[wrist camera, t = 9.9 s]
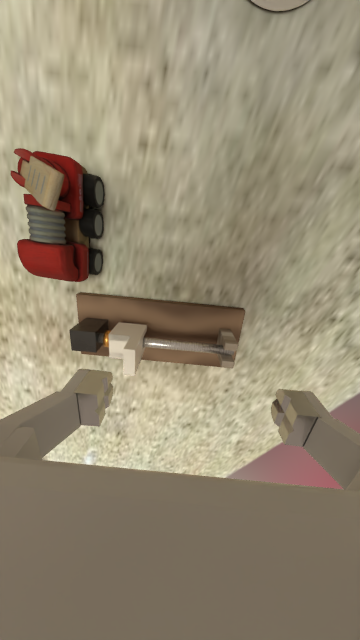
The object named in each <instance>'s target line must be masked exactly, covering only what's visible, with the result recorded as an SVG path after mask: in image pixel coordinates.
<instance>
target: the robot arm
mask: <svg viewBox="0 0 360 640" xmlns="http://www.w3.org/2000/svg"><path fill="white" fill-rule="evenodd" d="M251 1H252V2H254V3H255V4H257V5H258V6H260V7H262V8H265V9H268V10H273V11H285V10H290V9H293V8H296V7H298V6H301V5H302V4H304V3H306V2H308V1H309V0H251ZM112 379H113V376H112V373H111V372H106V371H98V370H89V369H79V370H78V371H77V372H76V373H75V374H74V376H73V377H72V378H71V379H70V381H69V382H68V383H67V384H66V385H65V387H64V388H63V389H62V390H61V392H55V393H53V394H51V395H49V396H47V397H45V398H43V399H41V400H39V401H37V402H35V403H33V404H31V405H29V406H27V407H25V408H23V409H21V410H19V411H17V412H15V413H13V414H11V415H9V416H7V417H5V418H3V419H1V420H0V640H360V434H359V433H357V432H356V431H354V430H353V429H351V428H350V427H348V426H347V425H345V424H344V423H342V422H340V421H339V420H338V419H333V417H332V416H331V415H330V414H329V412H328V411H327V410H326V408H325V407H324V406H323V405H322V403H321V402H320V401H319V400H318V398H317V397H316V396H315V395H314V393H312V392H311V391H296V390H286V389H278V390H277V392H276V397H277V399H276V400H275V401H274V402H273V403H272V406H271V415H272V418H273V421H274V423H275V424H277V425H278V426H279V430H278V432H279V434H280V436H281V438H282V440H283V443H284V444H285V445H293V446H301V447H303V448H304V449H305V450H306V451H307V452H308V453H309V454H310V455H311V456H312V457H313V458H314V459H315V460H316V461H317V462H318V463H319V464H320V465H321V466H322V467H323V468H324V469H325V470H326V471H327V472H328V473H329V474H330V475H331V476H332V477H333V478H334V479H335V480H336V481H337V482H338V483H339V484H340V485H341V486H342V488H343V489H344V490H342V489H333V488H323V487H312V486H302V485H292V484H281V483H270V482H261V481H250V480H239V479H229V478H219V477H209V476H199V475H189V474H179V473H168V472H158V471H148V470H138V469H127V468H117V467H107V466H97V465H86V464H76V463H66V462H55V461H45V460H42V458H43V457H44V456H45V455H46V454H47V453H49V452H50V451H51V450H52V449H53V448H55V447H56V446H57V445H58V444H59V443H61V442H62V441H63V440H64V439H66V438H67V437H68V436H69V435H70V434H72V433H73V432H74V431H75V430H76V429H78V428H79V427H80V425H89V426H100V425H101V422H102V420H103V418H104V416H105V409H106V408H107V407H109V405H110V403H111V400H112V396H113V386H112V384H111V381H112Z"/></svg>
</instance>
